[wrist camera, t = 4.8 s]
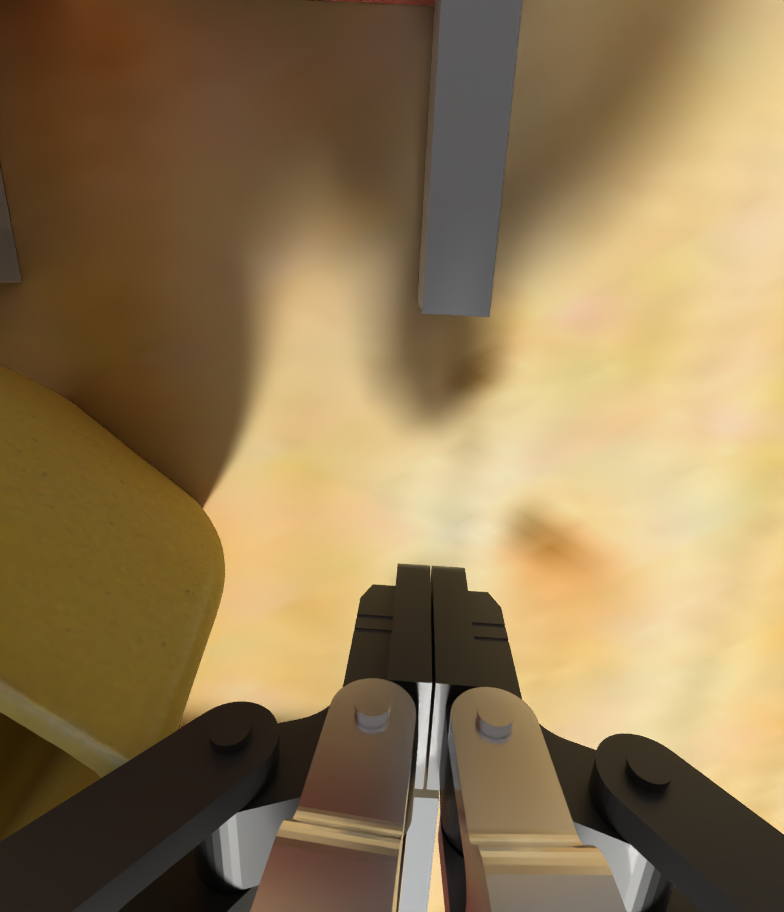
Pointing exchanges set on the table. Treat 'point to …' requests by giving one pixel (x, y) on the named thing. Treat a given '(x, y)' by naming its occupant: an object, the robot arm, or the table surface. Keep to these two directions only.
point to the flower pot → (90, 601)
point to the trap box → (440, 232)
